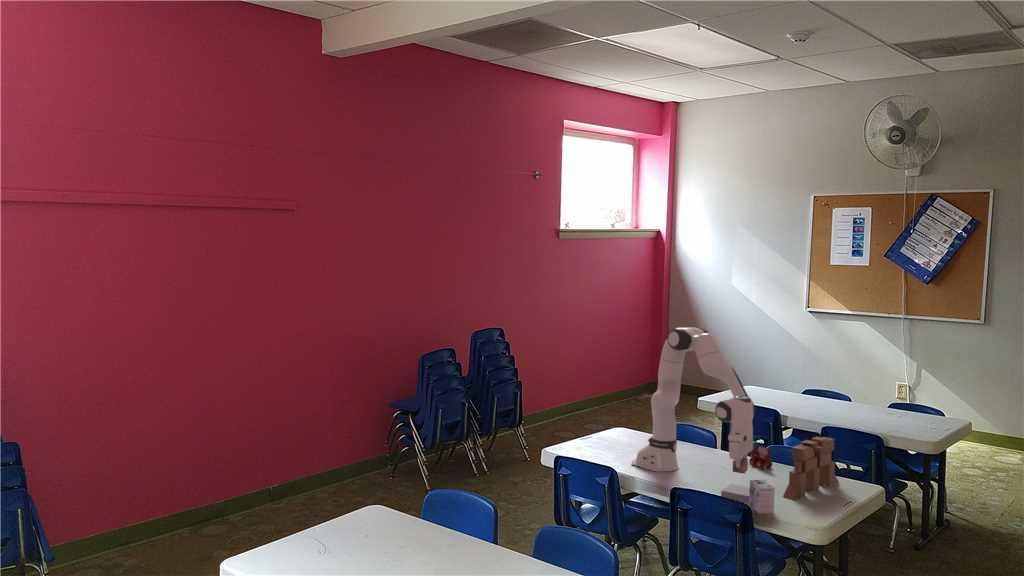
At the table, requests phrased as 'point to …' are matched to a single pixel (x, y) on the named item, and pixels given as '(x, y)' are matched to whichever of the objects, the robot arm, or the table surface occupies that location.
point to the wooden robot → (811, 467)
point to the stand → (736, 492)
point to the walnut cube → (743, 466)
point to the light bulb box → (761, 496)
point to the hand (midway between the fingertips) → (741, 465)
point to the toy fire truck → (760, 457)
